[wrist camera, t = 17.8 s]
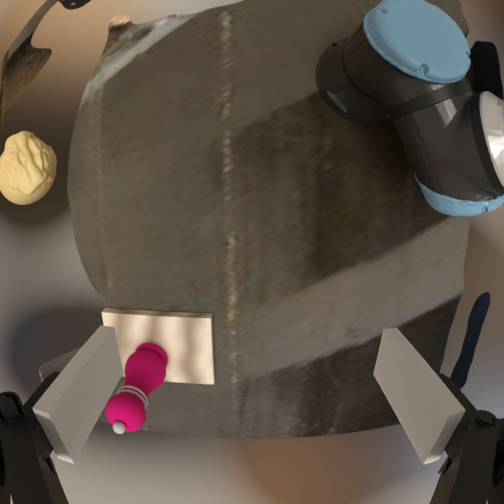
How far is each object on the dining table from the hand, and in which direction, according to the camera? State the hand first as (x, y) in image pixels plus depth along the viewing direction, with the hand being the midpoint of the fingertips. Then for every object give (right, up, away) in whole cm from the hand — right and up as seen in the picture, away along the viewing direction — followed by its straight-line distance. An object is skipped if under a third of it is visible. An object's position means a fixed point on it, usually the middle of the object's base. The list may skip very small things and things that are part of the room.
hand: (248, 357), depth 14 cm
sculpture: (-38, +20, +33) cm, 54 cm away
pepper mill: (-18, -14, +39) cm, 45 cm away
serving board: (-17, -12, +41) cm, 46 cm away
